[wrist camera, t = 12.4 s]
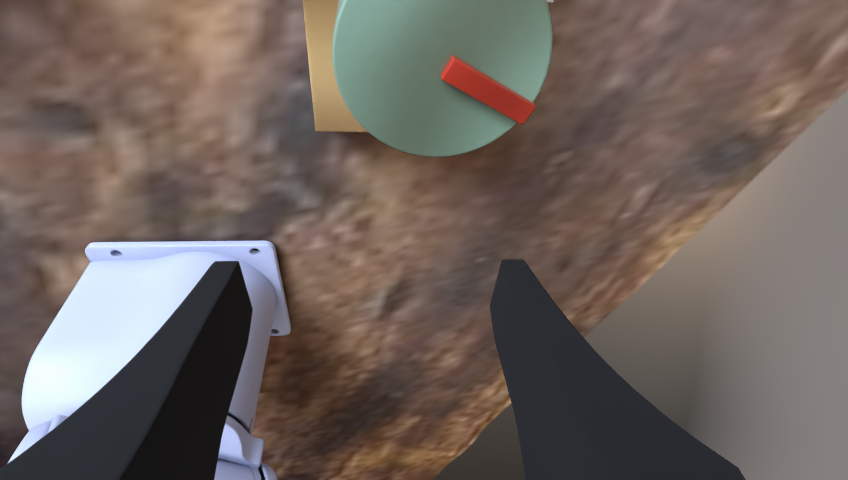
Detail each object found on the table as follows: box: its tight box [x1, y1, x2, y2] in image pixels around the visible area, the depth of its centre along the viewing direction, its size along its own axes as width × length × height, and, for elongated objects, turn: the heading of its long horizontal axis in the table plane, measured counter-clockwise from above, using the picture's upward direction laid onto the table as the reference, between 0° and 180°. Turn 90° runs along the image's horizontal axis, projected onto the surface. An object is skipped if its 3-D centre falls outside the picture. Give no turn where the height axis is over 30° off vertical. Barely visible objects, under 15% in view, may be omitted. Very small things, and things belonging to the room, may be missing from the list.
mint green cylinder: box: [332, 0, 553, 157], centre depth 13 cm, size 5×5×7 cm
